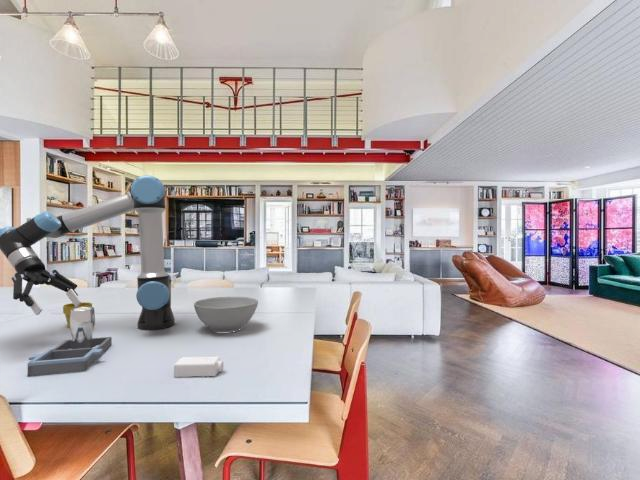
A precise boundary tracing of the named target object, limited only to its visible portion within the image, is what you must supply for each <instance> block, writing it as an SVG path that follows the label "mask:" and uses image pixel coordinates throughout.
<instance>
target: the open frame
mask: <svg viewBox="0 0 640 480" xmlns="http://www.w3.org/2000/svg"><path fill="white" fill-rule="evenodd" d="M112 338H113V337H112V336H107V337H106V336H104V337H103V336H101V337H92V347H93V348H81V349H72V347H73V340H72V339H66V340H64V341H63V342H61V343H60V344H58V345H56V346H55V347H54V348H48V349H46V350H44V351H43V352H41V353H34V354H32V355H30V356H29V357H28V362H27V364H26V365H27V377H36V376H37V377H38V376H48V375H57V374H58V375H59V374H66V373H67V374H68V373H78V372H87V370H88V369H89V368H90V367H91V366H92V365H93V364H94V363H95V362H96V361H97V360H98V359H99V358H100V357H101V356H102V355H103V354H104V353H105V352H106V351H107V350H108V349H109V348H110V347H111V346H112V344H113V343H112Z"/></svg>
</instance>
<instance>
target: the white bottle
mask: <svg viewBox="0 0 640 480" xmlns="http://www.w3.org/2000/svg"><path fill="white" fill-rule="evenodd" d="M224 366H225V365H224V361H223V360H221V358H220V356H218V355H217V356H184V357H180V358H178V360H176V362H175V363H174V365H173V377H174V378H189V377H188V376H202V377H205V376H207V377H209V376H214V375H217V374H218V373H222V372H223V370H224ZM217 372H218V373H217ZM214 377H215V376H214Z"/></svg>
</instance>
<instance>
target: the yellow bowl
mask: <svg viewBox="0 0 640 480" xmlns="http://www.w3.org/2000/svg"><path fill="white" fill-rule="evenodd" d="M80 307H93V303H92V302H86V301H85V302H83V301H82V302H81V303H80V305H79V306H78V307H75V305H74V304H73V303H72V302H71V303H65V304H64V305H63V306H62V313H63V314H64V317H65V320H66V324H67V327H68V328H69V329H70V314H71V309H74V308H80Z"/></svg>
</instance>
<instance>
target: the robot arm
mask: <svg viewBox="0 0 640 480" xmlns="http://www.w3.org/2000/svg"><path fill="white" fill-rule="evenodd" d="M166 196H167V192H166V189H165V185H164V184H163V182H162V181H161V180H160V179H159V178H157V177H155V176H153V175H146V174H145V175H140V176H139V177H137V178H135V179H134V180H133V181H132V184H131V186H130V189H129V190H128V191H127V193H126V194H122V195H120V196H117V197H113V198H109V199H107V200H103V201H101V202H97V203H95V204H94V203H93V204H92V205H87V206H86V207H83V208H80V209H79V208H78V209H75V210H74V211H69V212H68V213H64V214H62V215H57V216H56V215H54V214H53V213H52V212H50V211H48V210H47V211H43V212H41V213H39V214H36V215H35V216H34V217H32V218H31V219H29V220H28V221H26V222H24V223H23V224H21V225H19V226H18V227H15V226H5V227H4V228H0V251H1V252H2V254H3V255H4V256H5V257H6V259H7V261H8V262H9V263H10V264H11V266H12V268H13V269H14V270H15V274H14V275H13V276H12V277H11V280H12V282H13V291H12V292H13V293H12V294H13V295H12V298H13V300H18V299H19V300H18V302H24V303H25V305H26V307H29V308H30V309H31V310H32V311H33V313H34V315H35V316H39V315H40V314H41V313H42V312H43V310H44V308H43V307H42V305H41V304H40V303H39V301H38V300H37V299H36V297H35V296H34V295H33V294H32V293H31V291H32V289H33V286H39V285H47V286H51V287H54V288H56V289H59V290H61V291H64V292H66V293H65V294H66V296H67V297H68V299H69V300H70V302H71V303H73V304H74V305H75V307H78V306H79V305H80V303H81V302H83V301H82V300H81V299H80V297H79V294H78V293H77V292H76V289H77V287H78V284H76V283H75V282H73V281H72V280H70V279H68V278H67V277H65V276H64V275H62V274H61V273H60V272H59V271H58V270H57V269H53V270H52V271H48V270H46V264H45V263H44V262H43V261H42V259H41V258H40V256H39V255H38V254H37V253H36V252H35V250H34V249H33V247H32V246H33V245H35V244H37V243H39V241H41V240H43V239H45V238H51V239H58V238H61V237H64V236H65V235H67V234H69V233H72V232H74V231H78V230H80V229H84V228H86V227H89V226H90V227H91V226H93V225H95V224H99V223H101V222H105V221H107V220H110V219H113V218H116V217H118V216H121V215H124V214H127V213H130V212H133V211H134V212H136V213H137V215H138V234H139V251H140V252H139V253H140V270H141V271H140V273H139V274H138V276H137V277H136V279H137V281H136V282H137V290H136V300H137V304H139V306H141V312H140V315H139V317H138V319H137V326H136V327H137V329H138V330H148V331H149V330H151V331H152V330H161V329H166V328H170V327H173V326H174V325H175V324H176V322H175V321H176V319H175V316H174V313H173V310H172V275H170V274H169V273H168V272H167V271H165V253H164V232H163V213H164V212H165V211H166ZM23 281H25V282H27V283H26V284H25V288H24V289H23ZM30 293H31V294H30Z"/></svg>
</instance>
